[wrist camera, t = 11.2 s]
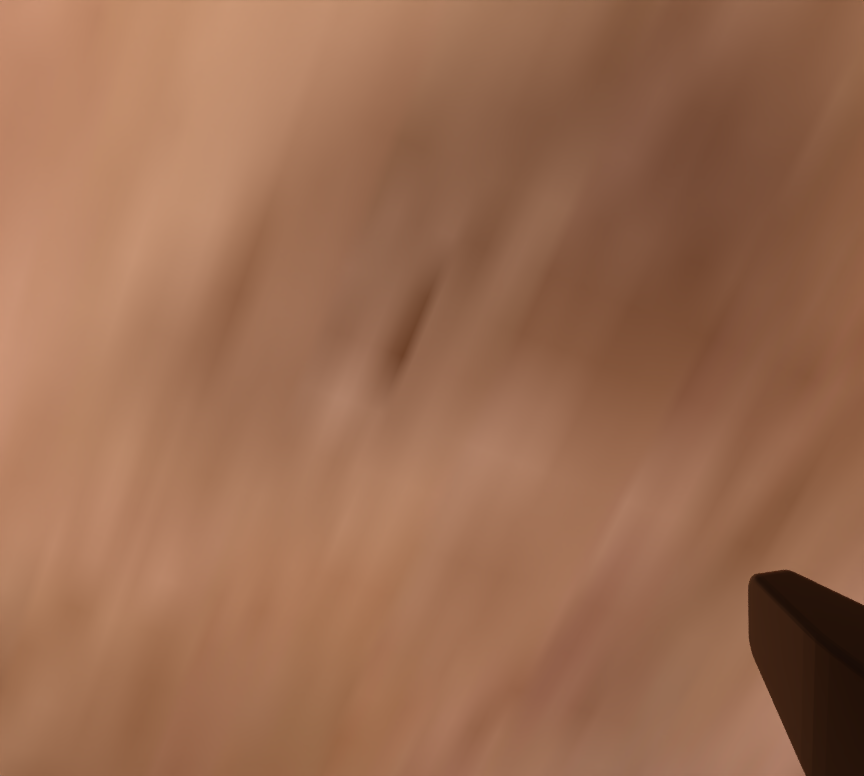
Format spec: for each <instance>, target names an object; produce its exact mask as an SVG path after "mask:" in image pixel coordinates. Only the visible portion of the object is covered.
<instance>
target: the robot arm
mask: <svg viewBox="0 0 864 776" xmlns="http://www.w3.org/2000/svg"><path fill="white" fill-rule="evenodd" d="M748 618H749V642H750V647H751V651H752V654H753V657H754V659H755V662H756V664H757V666H758V669H759V671H760V673H761V675H762V678H763V680H764V682H765V685H766V687H767V689H768V691H769V694H770V696H771V698H772V700H773V703H774V705H775V707H776V710H777V712H778V714H779V716H780V719H781V721H782V723H783V725H784V728H785V730H786V732H787V735H788V737H789V739H790V741H791V744H792V746H793V748H794V750H795V753H796V755H797V757H798V760H799V762H800V764H801V766H802V768H803V771H804V773H805V775H806V776H864V605H862V604H860V603H858V602H856V601H854V600H852V599H850V598H848V597H845V596H843V595H841V594H839V593H837V592H835V591H833V590H831V589H829V588H827V587H824V586H822V585H820V584H818V583H816V582H814V581H812V580H810V579H808V578H806V577H803V576H801V575H799V574H797V573H795V572H792V571H790V570H779V571H772V572H765V573H758V574H754V575H753V576H752V577H751V578H750V581H749V585H748Z"/></svg>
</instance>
